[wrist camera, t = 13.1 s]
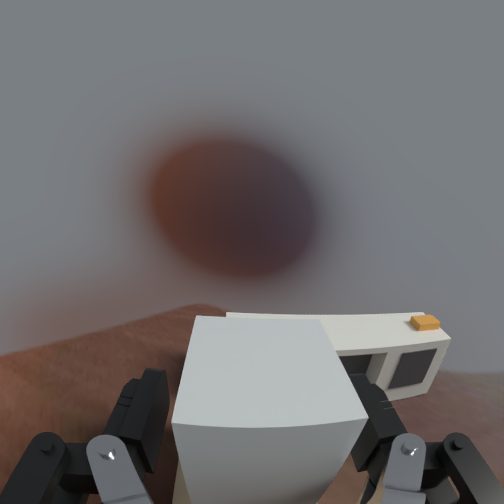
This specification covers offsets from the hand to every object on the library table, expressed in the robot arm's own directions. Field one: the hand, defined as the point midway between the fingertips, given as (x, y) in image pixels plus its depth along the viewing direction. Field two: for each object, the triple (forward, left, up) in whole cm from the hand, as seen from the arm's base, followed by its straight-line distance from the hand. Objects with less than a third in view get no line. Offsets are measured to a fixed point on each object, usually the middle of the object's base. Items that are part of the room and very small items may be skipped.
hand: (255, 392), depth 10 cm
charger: (0, -1, -8) cm, 8 cm away
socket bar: (+8, +9, -9) cm, 14 cm away
